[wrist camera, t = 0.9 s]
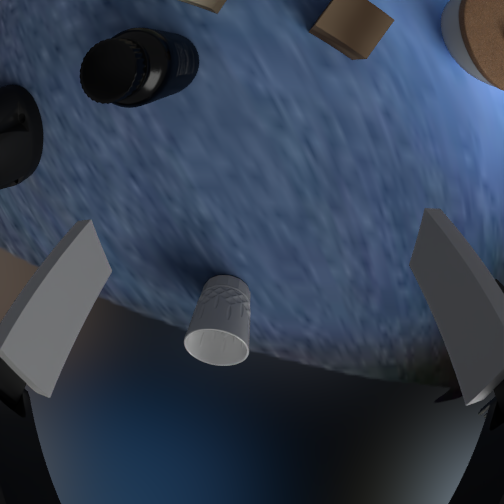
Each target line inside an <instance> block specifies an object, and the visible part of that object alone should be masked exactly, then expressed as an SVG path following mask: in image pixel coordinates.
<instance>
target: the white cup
mask: <svg viewBox="0 0 504 504" xmlns="http://www.w3.org/2000/svg"><path fill="white" fill-rule="evenodd" d="M249 337H250V291H249V288H248V286H247V285H246V284H245V283H244V282H243V281H242V280H241V279H239V278H236V277H233V276H230V275H217V276H215V277H212V278H210V279H209V280H208V281H207V282H206V284H205V285H204V287H203V290H202V293H201V296H200V298H199V300H198V302H197V305H196V308H195V310H194V313H193V316H192V319H191V322H190V325H189V328H188V330H187V333H186V336H185V340H184V345H185V348H186V350H187V351H188V352H189V353H190V354H191V355H192V356H193V357H195V358H197V359H199V360H200V361H203V362H206V363H209V364H213V365H219V366H229V365H234V364H238V363H240V362H242V361H244V360H245V359H246V358H247V356H248V354H249Z"/></svg>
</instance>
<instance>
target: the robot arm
mask: <svg viewBox="0 0 504 504" xmlns="http://www.w3.org/2000/svg"><path fill="white" fill-rule="evenodd" d="M42 149H43V127H42V121H41V117H40V113H39V110H38V107H37V105H36V103H35V101H34V99H33V98H32V96H31V95H30V94H29V93H28V91H26V90H25V89H24V88H22V87H21V86H18V85H7V86H4V87H1V88H0V189H3V188H7V187H11V186H15V185H17V184H19V183H21V182H22V181H24V180H25V179H26V178H28V177H29V176H30V175H32V174H33V172H34V171H35V170H36V168H37V166H38V164H39V161H40V158H41V154H42ZM409 266H410V268H411V270H412V272H413V274H414V276H415V278H416V280H417V282H418V284H419V286H420V288H421V290H422V292H423V294H424V296H425V298H426V301H427V303H428V305H429V307H430V309H431V312H432V314H433V316H434V319H435V321H436V323H437V326H438V328H439V330H440V333H441V335H442V338H443V340H444V343H445V345H446V348H447V350H448V353H449V356H450V359H451V361H452V364H453V367H454V370H455V373H456V376H457V379H458V382H459V385H460V388H461V391H462V394H463V397H464V401H465V404H466V406H467V405H469V404H472V403H475V402H478V401H481V400H483V399H484V398H485V397H486V396H487V395H488V394H490V392H492V390H494V392H495V397H494V398H493V399H492V400H491V401H490V402H489V403H487V404H486V405H485V406H484V407H483V408H482V409H481V410H480V412H479V413H478V414H479V415H481V414H483V413H484V412H485V411H486V410H488V409H489V410H488V413H486V414H485V415H484V417H485V418H486V419H485V422H484V425H483V428H482V431H481V434H480V437H479V439H478V442H477V445H476V447H475V450H474V452H473V455H472V457H471V459H470V462H469V464H468V466H467V468H466V471H465V473H464V475H463V477H462V479H461V481H460V483H459V485H458V487H457V489H456V491H455V493H454V495H453V496H452V498H451V500H450V502H449V503H448V504H504V286H503V285H502V284H501V283H500V282H499V281H498V280H497V279H494V278H493V276H492V275H491V273H490V272H489V270H488V269H487V268H486V266H485V265H484V263H483V262H482V261H481V259H480V258H479V256H478V255H477V254H476V252H475V251H474V250H473V248H472V247H471V246H470V244H469V243H468V242H467V240H466V239H465V238H464V237H463V235H462V234H461V233H460V232H459V230H458V229H457V228H456V227H455V226H454V224H453V223H452V222H451V221H450V220H449V218H448V217H447V216H446V215H445V214H444V213H443V211H442V210H441V209H430V208H425V209H424V213H423V218H422V222H421V225H420V229H419V233H418V237H417V240H416V244H415V247H414V251H413V254H412V257H411V261H410V264H409ZM111 272H112V270H111V267H110V265H109V263H108V260H107V258H106V256H105V253H104V251H103V249H102V246H101V244H100V241H99V239H98V236H97V233H96V231H95V228H94V226H93V223H92V220H82V221H77V222H76V224H75V225H74V226H73V227H72V228H71V229H70V230H69V231H68V233H67V234H66V235H65V236H64V237H63V238H62V240H61V241H60V242H59V243H58V244H57V246H56V247H55V248H54V249H53V250H52V252H51V253H50V254H49V255H48V257H47V258H46V259H45V260H44V262H43V263H42V264H41V266H40V267H39V268H38V269H37V271H36V272H35V273H34V275H33V276H32V278H31V279H30V280H29V282H28V283H27V285H26V286H25V287H24V289H23V290H22V292H21V293H20V294H19V296H18V297H17V298H16V300H15V301H14V303H13V304H12V306H11V308H10V309H9V310H8V312H7V314H6V316H5V317H4V318H3V320H2V322H1V323H0V504H61V503H60V500H59V498H58V495H57V493H56V490H55V488H54V485H53V483H52V480H51V477H50V474H49V471H48V468H47V466H46V462H45V459H44V456H43V453H42V449H41V446H40V442H39V438H38V434H37V431H36V426H35V422H34V417H33V413H32V408H31V402H30V397H29V394H28V391H27V390H25V386H26V384H27V385H29V386H30V387H31V388H32V389H33V390H34V391H35V392H36V393H39V394H41V395H44V396H46V397H49V398H50V397H51V394H52V391H53V389H54V387H55V384H56V382H57V379H58V377H59V374H60V372H61V370H62V368H63V365H64V363H65V361H66V359H67V357H68V355H69V352H70V350H71V348H72V346H73V344H74V342H75V340H76V338H77V335H78V333H79V331H80V329H81V327H82V325H83V323H84V321H85V320H86V318H87V316H88V314H89V312H90V310H91V308H92V306H93V304H94V302H95V301H96V299H97V297H98V295H99V293H100V291H101V290H102V288H103V286H104V284H105V283H106V281H107V279H108V277H109V276H110V274H111Z"/></svg>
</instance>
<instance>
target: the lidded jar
mask: <svg viewBox="0 0 504 504" xmlns="http://www.w3.org/2000/svg"><path fill="white" fill-rule="evenodd" d="M441 32H442V36H443V40H444V42H445V45H446V47H447V49H448V51H449V52H450V54H451V55H452V57H453V58H454V60H455V61H456V62H457V63H458V64H459V65H460V67H462V68H463V69H464V70H465V71H466V72H467V73H468V74H470V75H471V76H473V77H475V78H476V79H478V80H480V81H482V82H484V83H486V84H488V85H491V86H494V87H497V88H499V89H501V90H503V91H504V0H450V1H449V2H448V3H447V4H446V6H445V8H444V9H443V12H442V15H441Z"/></svg>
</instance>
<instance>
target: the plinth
mask: <svg viewBox="0 0 504 504" xmlns="http://www.w3.org/2000/svg"><path fill="white" fill-rule="evenodd" d="M179 1H182V2H185V3H188V4H192V5H194V6H197V7H200V8H203V9H206V10H209V11H211V12H214V13H217V14H218V12H219V11H220V9H221V8H222V6H223V5H224V3H225V2H226V0H179Z"/></svg>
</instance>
